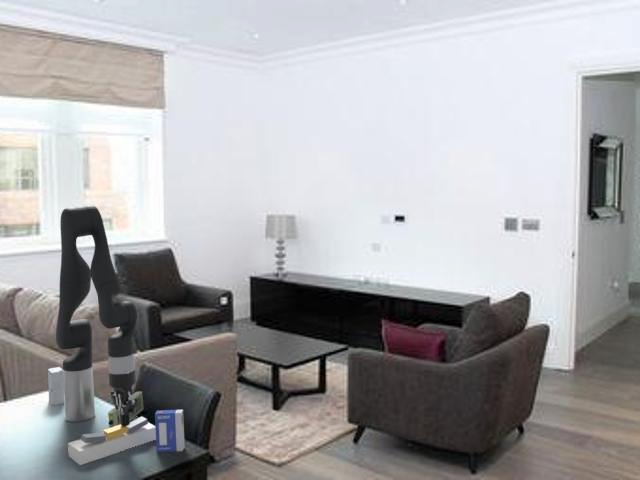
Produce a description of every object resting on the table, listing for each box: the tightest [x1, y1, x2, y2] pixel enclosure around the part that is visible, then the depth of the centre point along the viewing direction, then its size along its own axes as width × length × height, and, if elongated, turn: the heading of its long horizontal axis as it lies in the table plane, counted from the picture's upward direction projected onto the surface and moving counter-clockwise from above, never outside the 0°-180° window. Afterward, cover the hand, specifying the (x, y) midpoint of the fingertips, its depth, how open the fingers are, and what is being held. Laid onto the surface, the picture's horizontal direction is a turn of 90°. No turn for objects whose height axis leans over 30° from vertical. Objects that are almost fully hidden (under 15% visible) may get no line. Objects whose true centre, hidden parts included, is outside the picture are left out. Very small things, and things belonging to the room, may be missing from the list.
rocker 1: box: [102, 424, 128, 438], centre depth 186 cm, size 3×6×2 cm, turn 134°
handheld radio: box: [107, 391, 144, 428], centre depth 205 cm, size 7×3×25 cm
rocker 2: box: [127, 416, 149, 433], centre depth 190 cm, size 3×6×2 cm, turn 134°
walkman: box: [154, 409, 185, 453], centre depth 185 cm, size 8×3×12 cm, turn 94°
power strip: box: [67, 422, 156, 466], centre depth 187 cm, size 8×24×4 cm, turn 134°
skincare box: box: [47, 366, 65, 406], centre depth 225 cm, size 6×4×12 cm
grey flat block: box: [80, 432, 106, 443], centre depth 181 cm, size 3×6×2 cm, turn 134°
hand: (125, 425), depth 188 cm, fingers closed
